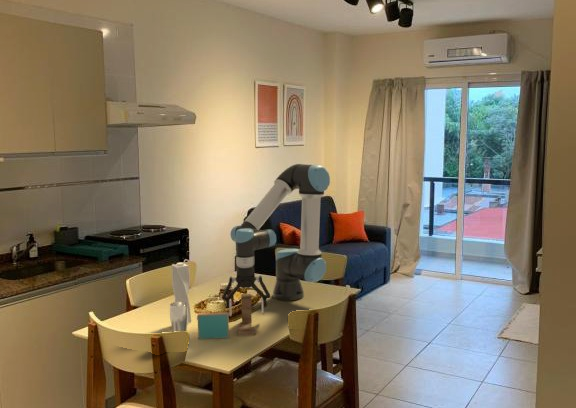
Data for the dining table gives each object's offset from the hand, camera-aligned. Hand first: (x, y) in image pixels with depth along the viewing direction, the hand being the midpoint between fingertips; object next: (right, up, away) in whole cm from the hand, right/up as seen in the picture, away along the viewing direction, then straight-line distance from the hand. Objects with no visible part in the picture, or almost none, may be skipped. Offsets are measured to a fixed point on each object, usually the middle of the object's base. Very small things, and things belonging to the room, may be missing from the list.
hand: (246, 314), depth 238 cm
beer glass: (-25, -7, -18) cm, 31 cm away
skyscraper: (-27, -4, +1) cm, 27 cm away
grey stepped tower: (0, -5, -5) cm, 7 cm away
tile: (-12, -6, -15) cm, 20 cm away
